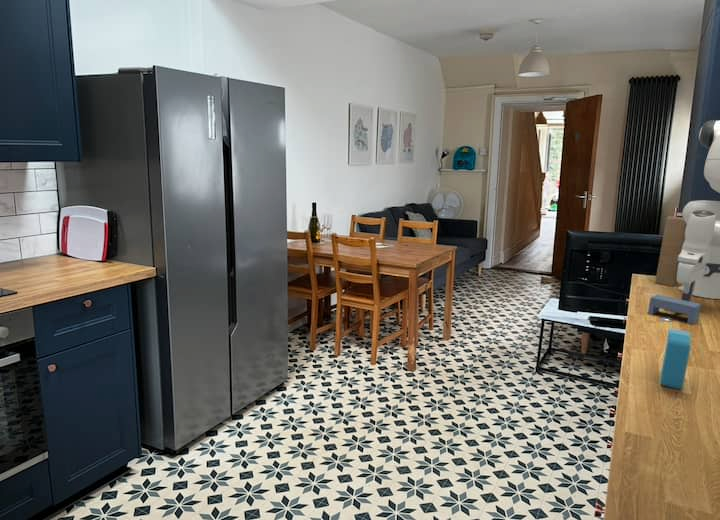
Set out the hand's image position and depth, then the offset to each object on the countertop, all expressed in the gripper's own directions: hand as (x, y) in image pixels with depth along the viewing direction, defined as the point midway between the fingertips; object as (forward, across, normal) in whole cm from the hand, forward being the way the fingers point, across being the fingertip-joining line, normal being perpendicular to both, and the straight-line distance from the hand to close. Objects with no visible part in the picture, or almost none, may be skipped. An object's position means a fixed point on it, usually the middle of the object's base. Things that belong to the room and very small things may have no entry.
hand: (687, 292), depth 192 cm
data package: (+7, +76, +18) cm, 78 cm away
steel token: (+7, +21, 0) cm, 22 cm away
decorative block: (+7, -44, -20) cm, 49 cm away
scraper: (+6, +6, 0) cm, 8 cm away
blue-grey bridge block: (+7, +14, 0) cm, 16 cm away
